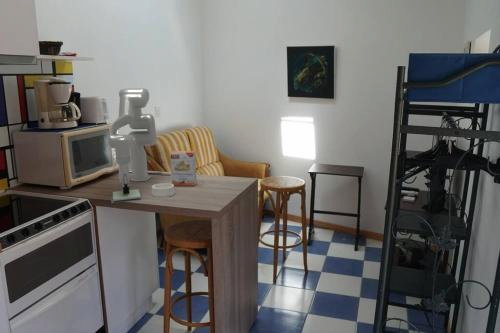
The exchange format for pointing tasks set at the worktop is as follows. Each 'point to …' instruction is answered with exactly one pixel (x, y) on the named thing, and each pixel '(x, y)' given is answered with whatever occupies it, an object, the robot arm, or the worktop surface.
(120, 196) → the cover board
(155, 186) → the bowl
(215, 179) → the worktop surface
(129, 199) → the mat
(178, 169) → the cracker box
